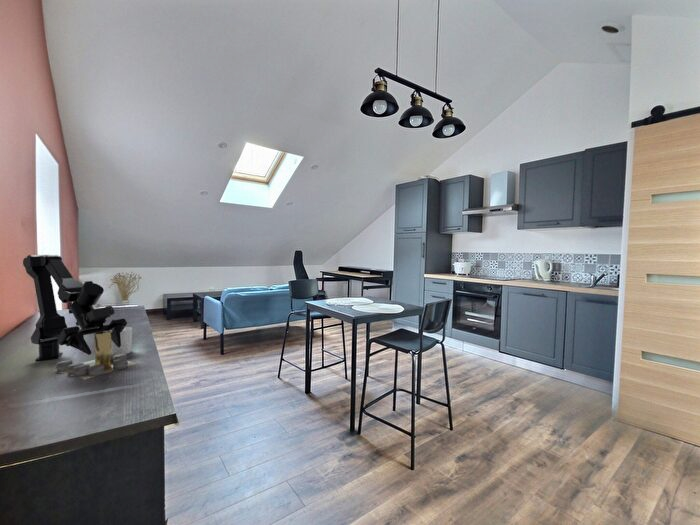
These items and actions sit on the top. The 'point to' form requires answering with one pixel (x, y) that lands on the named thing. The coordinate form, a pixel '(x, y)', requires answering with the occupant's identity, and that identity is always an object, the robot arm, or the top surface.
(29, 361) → the top surface
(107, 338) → the brass post
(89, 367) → the spacer board
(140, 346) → the top surface
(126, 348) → the white cup
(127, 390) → the top surface
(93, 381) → the top surface
